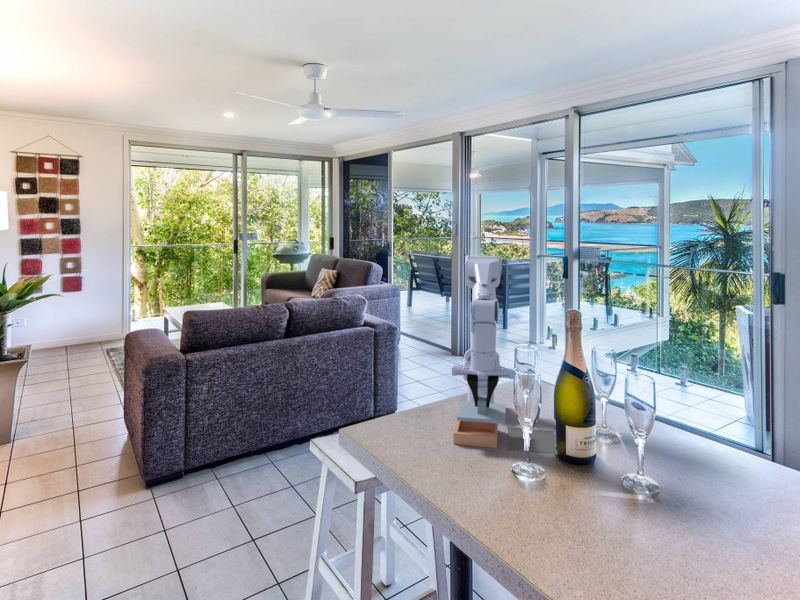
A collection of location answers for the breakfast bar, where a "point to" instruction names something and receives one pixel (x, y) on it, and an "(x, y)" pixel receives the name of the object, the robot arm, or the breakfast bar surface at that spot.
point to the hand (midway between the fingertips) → (482, 405)
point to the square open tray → (476, 434)
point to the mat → (532, 441)
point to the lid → (482, 411)
